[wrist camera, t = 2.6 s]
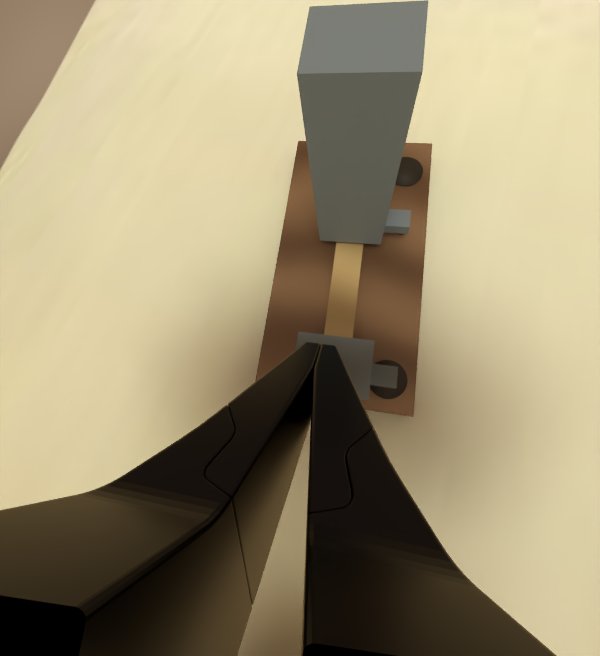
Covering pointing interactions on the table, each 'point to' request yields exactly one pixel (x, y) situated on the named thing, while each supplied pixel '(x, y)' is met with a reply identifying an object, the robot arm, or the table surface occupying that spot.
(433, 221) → the table surface
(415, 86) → the block
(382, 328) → the hole plate
